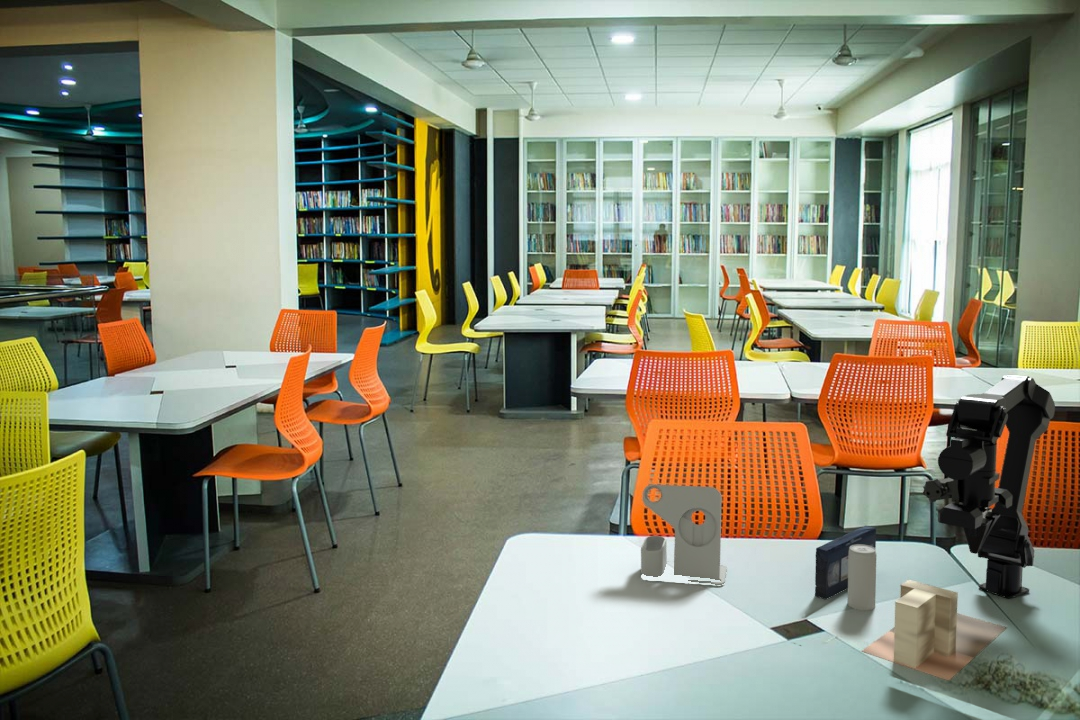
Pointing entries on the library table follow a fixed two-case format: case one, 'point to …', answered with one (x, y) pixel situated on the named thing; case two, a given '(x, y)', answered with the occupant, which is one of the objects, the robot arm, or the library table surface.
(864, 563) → the beverage can
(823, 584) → the vhs cassette tape
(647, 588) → the library table surface
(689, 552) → the phone holder
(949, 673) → the board
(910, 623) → the T block
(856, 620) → the library table surface
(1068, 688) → the library table surface
